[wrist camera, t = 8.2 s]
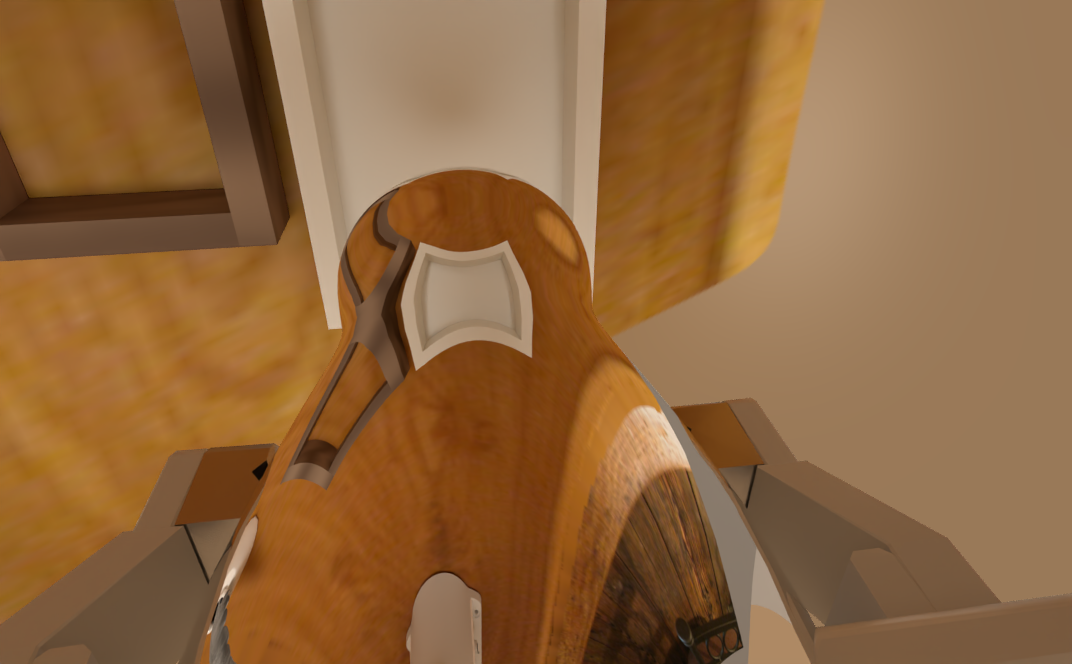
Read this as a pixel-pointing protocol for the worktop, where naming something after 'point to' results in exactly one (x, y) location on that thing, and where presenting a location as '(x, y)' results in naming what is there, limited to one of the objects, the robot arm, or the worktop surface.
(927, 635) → the robot arm
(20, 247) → the walnut collar
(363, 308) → the beer glass
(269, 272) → the worktop surface
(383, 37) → the cream white tray
